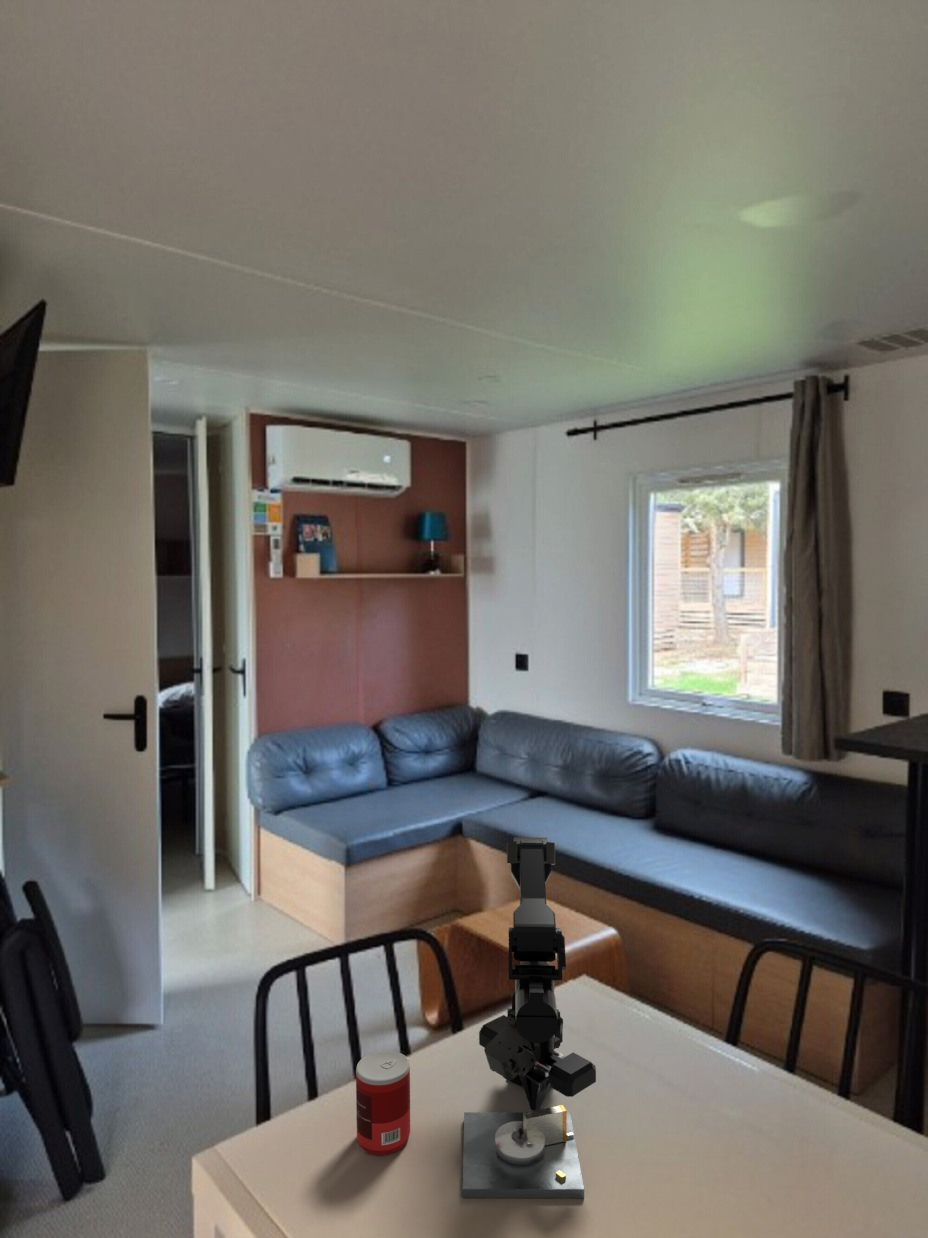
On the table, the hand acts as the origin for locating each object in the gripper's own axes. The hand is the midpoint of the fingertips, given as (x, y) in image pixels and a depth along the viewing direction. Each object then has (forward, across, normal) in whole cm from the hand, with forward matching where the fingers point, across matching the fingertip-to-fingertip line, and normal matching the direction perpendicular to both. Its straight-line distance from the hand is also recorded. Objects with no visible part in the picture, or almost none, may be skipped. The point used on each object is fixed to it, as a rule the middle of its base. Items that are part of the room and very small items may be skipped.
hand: (535, 1110), depth 120 cm
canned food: (+4, -14, -17) cm, 23 cm away
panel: (+4, +2, -5) cm, 7 cm away
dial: (+2, +3, -4) cm, 5 cm away
